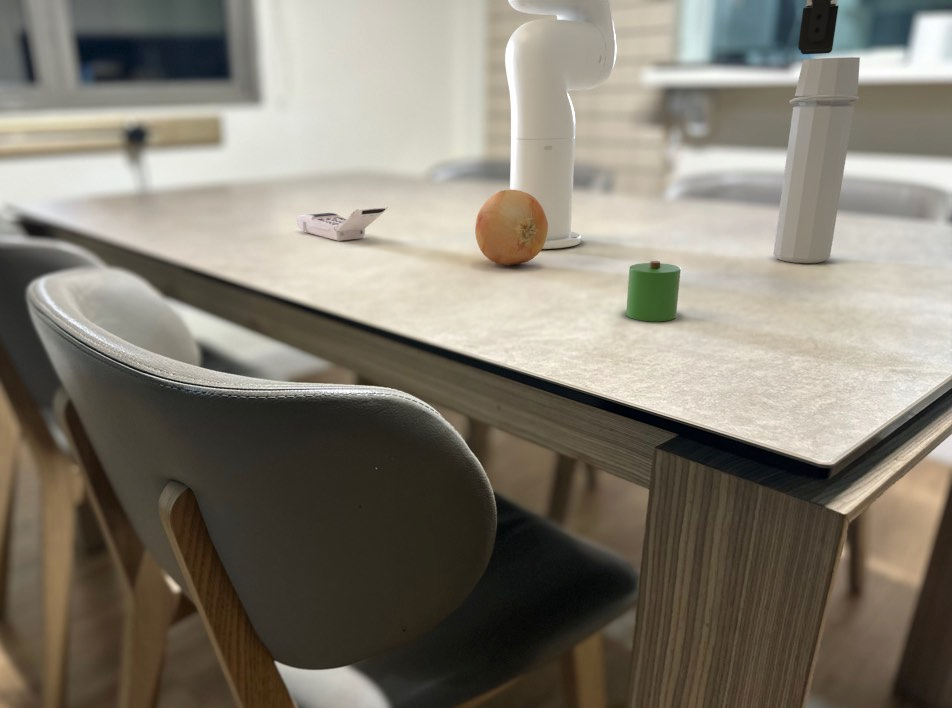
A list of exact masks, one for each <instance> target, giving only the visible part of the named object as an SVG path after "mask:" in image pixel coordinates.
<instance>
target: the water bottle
mask: <svg viewBox="0 0 952 708" xmlns="http://www.w3.org/2000/svg"><path fill="white" fill-rule="evenodd" d="M860 60H861V57H859V56H857V57H853V56H851V57H850V56H849V57H847V56H846V57H821V58H820V57H819V58H807V59H802V62H801V63H802V64H801V68H800V72H799V76H798V81H797V85H796V89H795V94H794V96H795V97H794V98H792V99H790V100H789V104H791V105H795V106H793V107H792V113H791V120H790V129H789V135H788V144H787V150H786V159H785V164H784V165H785V166H784V173H783V180H782V188H781V194H780V201H779V202H780V203H779V209H778V210H779V211H778V216H777V217H778V218H777V224H776V231H775V232H776V233H775V240H774V247H773V255H774V257H775V258H776V259H777V260H780V261H782V262H786V263H793V264H819V263H823V262H825V261H827V260H828V259H829V258H830V257H831V253H832V252H831V251H832V247H833V240H834V236H835V235H834V234H835V228H836V221H837V217H838V216H837V215H838V209H839V202H840V198H841V190H842V185H843V178H844V171H845V165H846V159H847V154H848V147H849V141H850V136H851V129H852V123H853V116H854V111H855V105H852V104H850V103H854V102H856V101H859V100H860V97H859V96H858V95H859V93H858V92H859V78H860V63H861V62H860Z"/></svg>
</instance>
